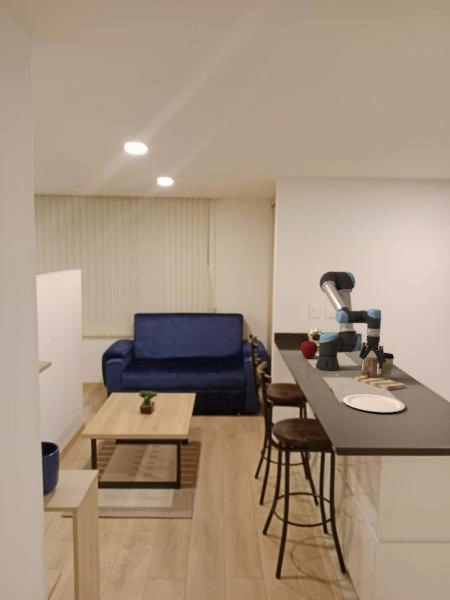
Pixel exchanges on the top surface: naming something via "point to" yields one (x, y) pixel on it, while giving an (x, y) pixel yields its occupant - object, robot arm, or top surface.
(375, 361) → the brown box
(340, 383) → the top surface
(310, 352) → the apple
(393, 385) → the board
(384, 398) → the plate
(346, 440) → the top surface
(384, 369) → the coffee cup
